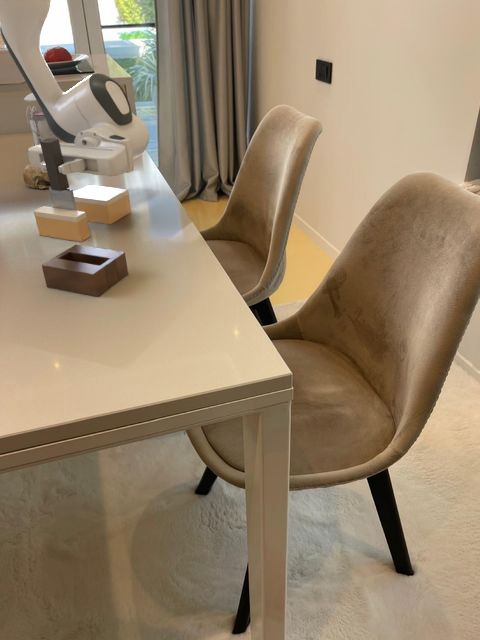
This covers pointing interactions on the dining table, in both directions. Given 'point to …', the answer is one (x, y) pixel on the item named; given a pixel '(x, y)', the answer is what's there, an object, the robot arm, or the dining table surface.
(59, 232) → the cake slice
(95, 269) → the knife block
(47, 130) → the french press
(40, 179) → the bread roll
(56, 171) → the cake knife
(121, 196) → the cake
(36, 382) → the dining table surface
